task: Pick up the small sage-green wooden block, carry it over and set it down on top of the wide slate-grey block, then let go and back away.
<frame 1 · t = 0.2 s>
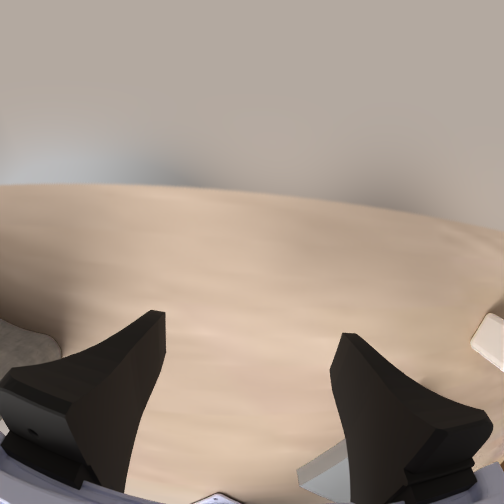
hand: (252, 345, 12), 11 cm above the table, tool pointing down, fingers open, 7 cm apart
pepper shaker: (484, 332, 24), on the table
hip flask: (6, 330, 23), on the table
slate block: (381, 454, 27), on the table
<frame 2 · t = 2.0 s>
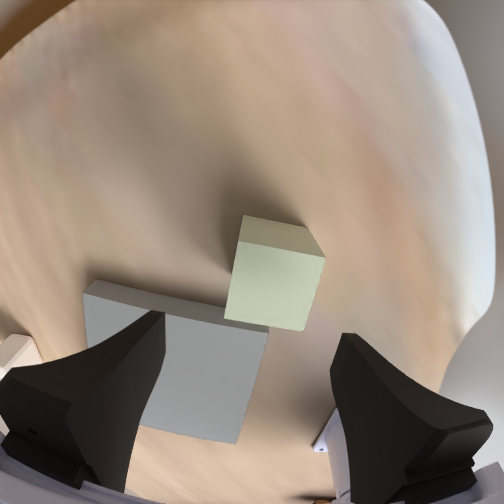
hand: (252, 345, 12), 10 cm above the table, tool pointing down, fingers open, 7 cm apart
pepper shaker: (29, 347, 26), on the table
sage block: (268, 251, 22), on the table
slate block: (173, 362, 26), on the table
wooden carving: (345, 498, 36), on the table
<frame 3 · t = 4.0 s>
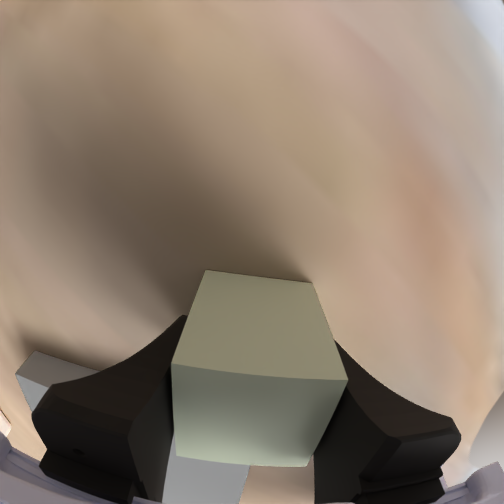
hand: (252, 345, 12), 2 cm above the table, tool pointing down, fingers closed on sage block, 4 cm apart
sage block: (252, 322, 14), on the table, touching gripper
slate block: (146, 441, 18), on the table
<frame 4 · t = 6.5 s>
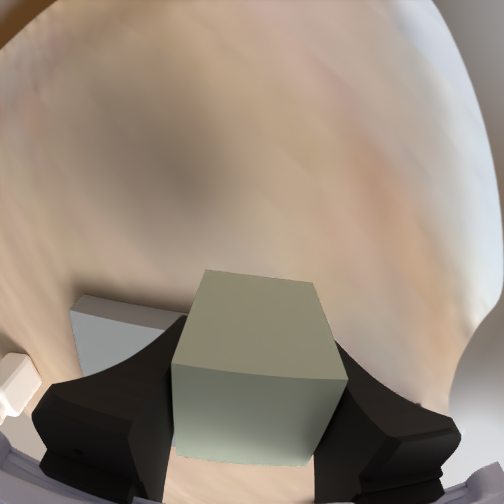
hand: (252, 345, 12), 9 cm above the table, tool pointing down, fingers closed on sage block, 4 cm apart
pepper shaker: (27, 364, 25), on the table
sage block: (252, 322, 14), point 7 cm above the table, touching gripper
slate block: (169, 375, 24), on the table
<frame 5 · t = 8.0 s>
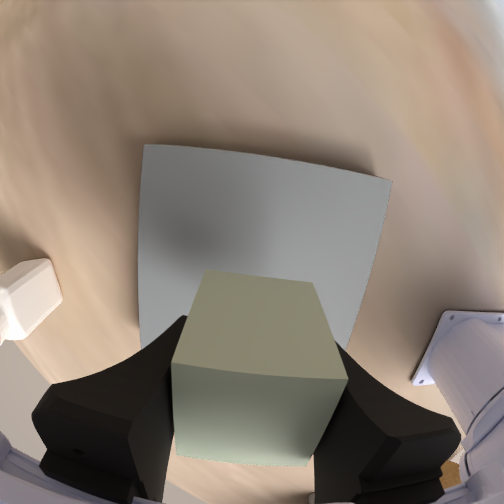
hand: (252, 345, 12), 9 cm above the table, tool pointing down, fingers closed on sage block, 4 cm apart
pepper shaker: (44, 278, 21), on the table
sage block: (252, 321, 14), point 7 cm above the table, touching gripper
slate block: (253, 260, 21), on the table
wooden carving: (423, 460, 30), on the table
when the fingers open (6 cm above the table, at t = 9.0 s): sage block drops 2 cm, point 2 cm above the table.
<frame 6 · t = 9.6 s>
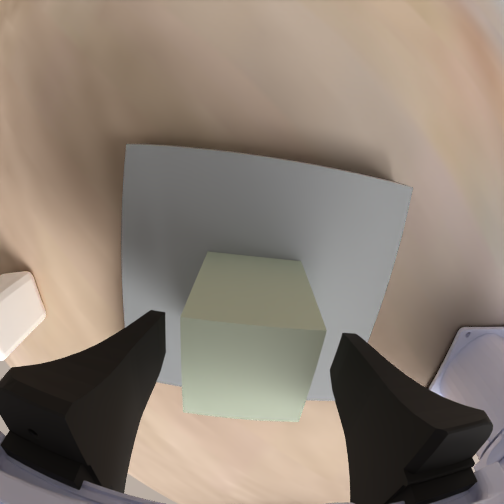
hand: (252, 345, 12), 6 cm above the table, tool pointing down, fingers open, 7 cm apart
pepper shaker: (26, 292, 19), on the table
sage block: (249, 298, 15), point 2 cm above the table
slate block: (253, 275, 18), on the table
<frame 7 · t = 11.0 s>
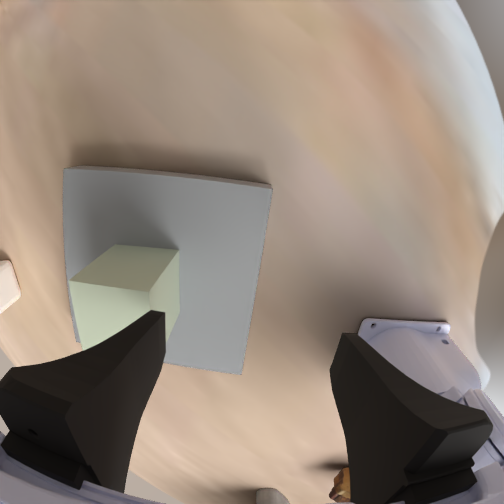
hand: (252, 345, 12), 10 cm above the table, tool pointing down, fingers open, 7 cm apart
pepper shaker: (7, 277, 23), on the table
sage block: (147, 278, 20), point 2 cm above the table, touching slate block
slate block: (162, 264, 23), on the table, touching sage block
wooden carving: (375, 466, 32), on the table
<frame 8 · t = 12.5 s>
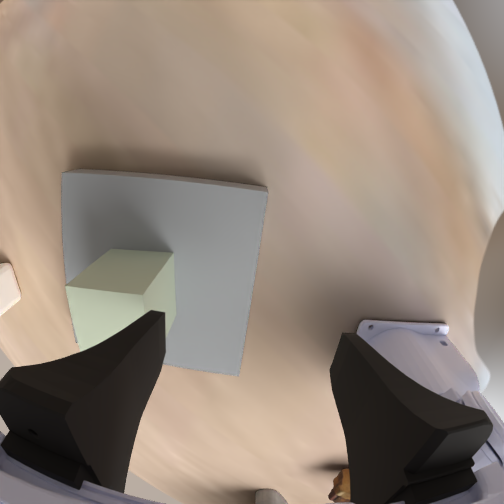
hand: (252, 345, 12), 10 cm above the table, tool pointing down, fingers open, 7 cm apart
pepper shaker: (8, 279, 23), on the table
sage block: (143, 282, 20), point 2 cm above the table
slate block: (160, 266, 23), on the table
wooden carving: (375, 468, 32), on the table
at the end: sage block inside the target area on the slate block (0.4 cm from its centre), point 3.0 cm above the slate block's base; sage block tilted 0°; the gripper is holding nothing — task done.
